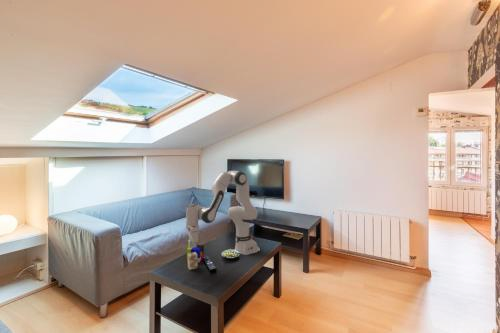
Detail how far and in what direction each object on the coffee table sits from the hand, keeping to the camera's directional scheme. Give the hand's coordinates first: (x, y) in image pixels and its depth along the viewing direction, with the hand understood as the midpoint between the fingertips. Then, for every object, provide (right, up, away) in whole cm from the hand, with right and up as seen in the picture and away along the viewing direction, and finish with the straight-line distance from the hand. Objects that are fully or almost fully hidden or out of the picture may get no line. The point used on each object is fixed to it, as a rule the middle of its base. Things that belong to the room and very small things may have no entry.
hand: (192, 244), depth 187 cm
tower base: (0, -18, +1) cm, 18 cm away
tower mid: (0, -13, +1) cm, 13 cm away
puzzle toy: (-1, -17, +15) cm, 23 cm away
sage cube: (0, -2, 0) cm, 2 cm away
